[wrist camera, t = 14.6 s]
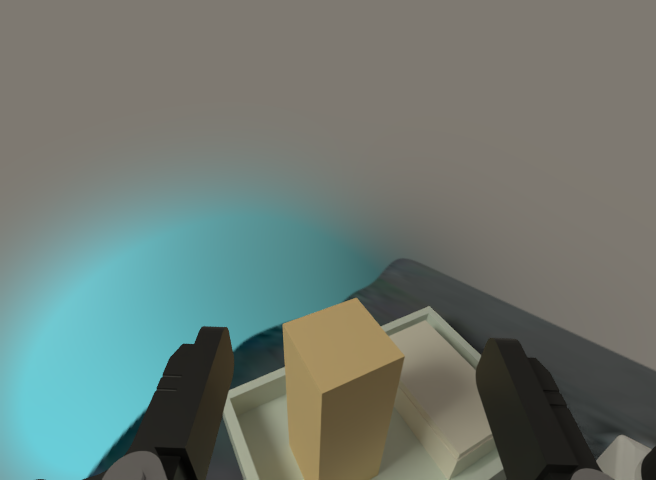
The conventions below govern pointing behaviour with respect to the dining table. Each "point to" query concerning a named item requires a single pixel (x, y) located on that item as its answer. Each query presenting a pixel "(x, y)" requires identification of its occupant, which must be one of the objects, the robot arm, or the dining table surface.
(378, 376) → the juice carton
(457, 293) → the dining table surface
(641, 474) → the container
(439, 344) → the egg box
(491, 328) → the dining table surface
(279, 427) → the tray
